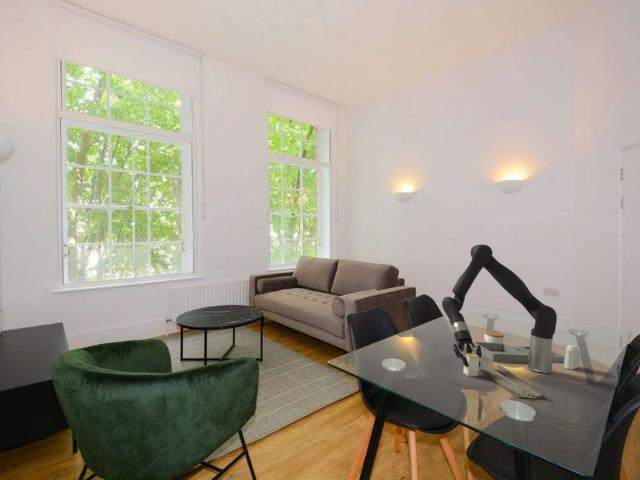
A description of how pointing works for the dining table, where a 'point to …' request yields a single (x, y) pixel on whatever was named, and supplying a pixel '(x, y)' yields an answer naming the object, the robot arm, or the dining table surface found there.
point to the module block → (472, 365)
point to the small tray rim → (556, 356)
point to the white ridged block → (572, 357)
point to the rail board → (511, 381)
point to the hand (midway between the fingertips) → (472, 366)
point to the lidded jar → (493, 337)
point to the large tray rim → (510, 357)
